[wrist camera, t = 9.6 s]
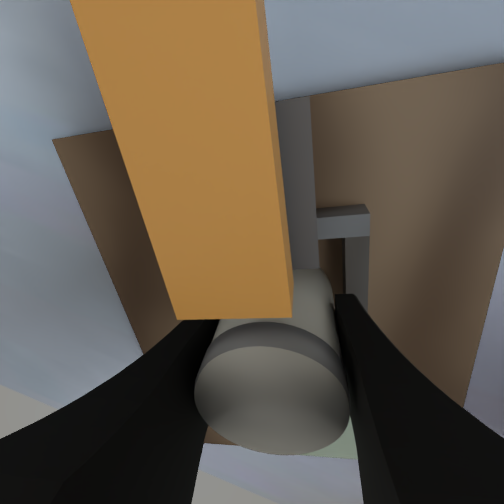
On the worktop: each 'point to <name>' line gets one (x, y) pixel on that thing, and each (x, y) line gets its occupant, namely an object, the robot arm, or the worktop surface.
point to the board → (353, 212)
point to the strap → (199, 146)
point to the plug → (278, 376)
